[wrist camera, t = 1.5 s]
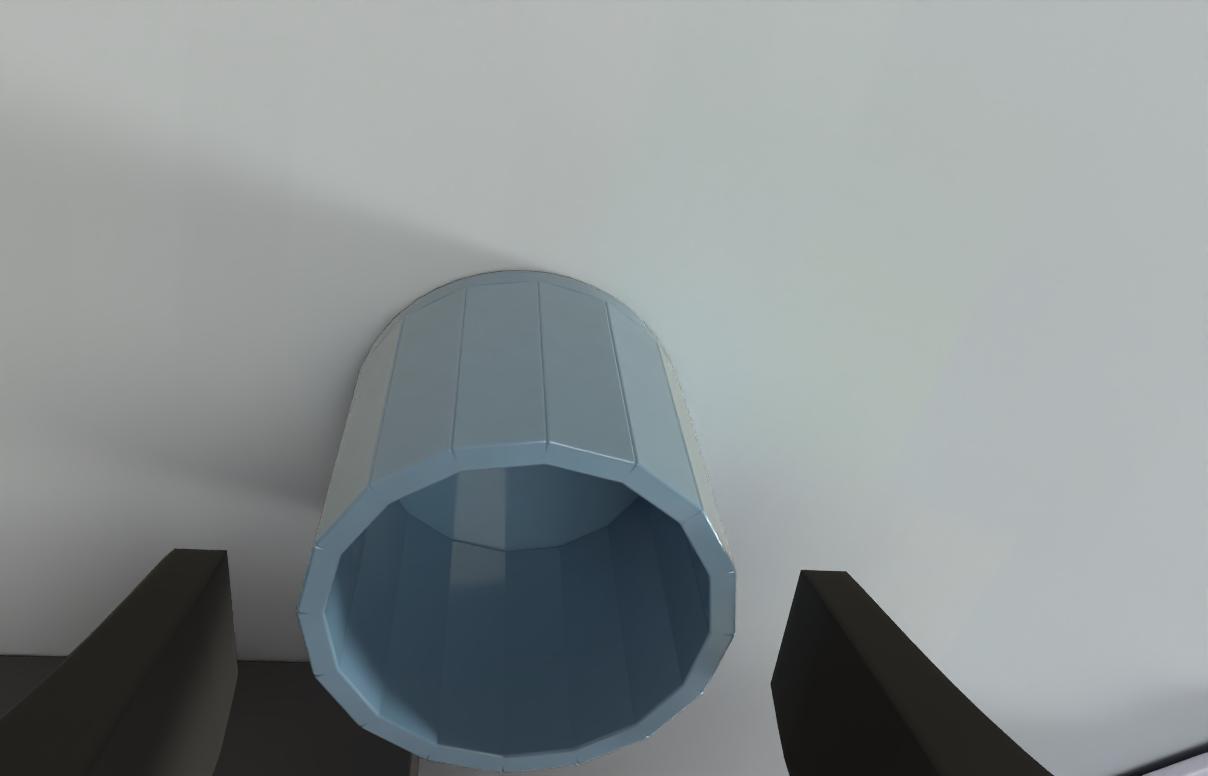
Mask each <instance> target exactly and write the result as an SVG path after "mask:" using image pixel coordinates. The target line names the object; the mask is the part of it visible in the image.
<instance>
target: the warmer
mask: <svg viewBox="0 0 1208 776" xmlns="http://www.w3.org/2000/svg"><path fill="white" fill-rule="evenodd" d="M65 659H66V658H64V657H20V656H0V718H1V717H3V716H4V715H5V714H6V713H7V712H8V711H9V710H10V709H12V708H13V707H14V706H15V705H16V704H17V703H18V702H19V701H21V700H22V699H23V698H24V697H25V696H26V695H27V694H28V693H30V692H31V691H32V690H33V689H34V688H35V687H36V686H37V685H39V684H40V683H41V682H42V681H43V680H44V679H45V678H46V677H47V676H48V675H49V674H50V673H51V672H53V671H54V670H55V669H56V668H57V667H58V666H59V665H60V664H61V663H62V662H63V661H64V660H65ZM237 666H238V677H237V682H236V686H235V691H234V696H233V700H232V705H231V709H230V714H229V718H228V723H227V727H226V731H225V735H224V740H223V744H222V748H221V752H220V755H219V758H218V761H217V764H216V767H215V770H214V773H213V775H212V776H418V763H419V757H418V756H416V755H414V754H412V753H410V752H408V751H406V750H404V749H402V748H400V747H398V746H396V745H394V744H392V743H390V742H388V741H386V740H384V739H382V738H380V737H378V736H376V735H374V734H372V733H370V732H368V731H366V730H364V729H362V727H361V726H359V725H357V723H356V722H355V721H354V720H353V719H352V718H351V717H350V716H349V715H348V713H347V712H346V711H345V710H344V709H343V708H342V707H341V706H340V705H339V704H338V702H337V701H336V700H335V699H334V698H333V697H332V696H331V695H330V694H329V693H328V691H327V690H326V689H325V688H324V687H323V686H322V685H321V684H320V683H319V681H318V680H317V679H316V678H315V675H314V674H313V672H312V669H311V665H310V663H285V662H241V661H237Z"/></svg>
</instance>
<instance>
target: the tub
mask: <svg viewBox="0 0 1208 776" xmlns="http://www.w3.org/2000/svg"><path fill="white" fill-rule="evenodd" d="M296 609H297V613H296V614H297V618H298V621H299V625H300V628H301V632H302V636H303V639H304V643H305V647H306V650H307V654H308V658H309V661H310V665H311V669H312V672H313V674H314V675H315V678H316V679H317V680H318V681H319V683H320V684H321V685H322V686H323V687H324V688H325V689H326V690H327V691H328V693H329V694H330V695H331V696H332V697H333V698H334V699H335V700H336V701H337V702H338V704H339V705H340V706H341V707H342V708H343V709H344V710H345V711H346V712H347V713H348V715H349V716H350V717H351V718H352V719H353V720H354V721H355V722H356V723H357V725H359V726H361V727H362V729H364V730H366V731H368V732H370V733H372V734H374V735H376V736H378V737H380V738H382V739H384V740H386V741H388V742H390V743H392V744H394V745H396V746H398V747H400V748H402V749H404V750H406V751H408V752H410V753H412V754H414V755H416V756H418V757H420V758H422V759H427V760H428V761H432V762H438V763H444V764H450V765H456V766H462V767H468V768H474V769H480V770H486V771H492V772H498V773H500V772H503V773H508V772H518V771H527V770H537V769H547V768H557V767H566V766H576V765H578V764H583V763H586V762H588V761H591V760H593V759H596V758H598V757H601V756H604V755H606V754H609V753H611V752H614V751H616V750H619V749H621V748H624V747H626V746H629V745H631V744H634V743H637V742H639V741H642V740H644V739H646V738H648V736H651V735H653V734H654V733H655V732H656V731H658V730H659V729H660V728H661V727H662V726H664V725H665V724H666V723H667V722H668V721H670V720H671V719H672V718H673V717H675V716H676V715H677V714H678V713H679V712H681V711H682V710H683V709H684V708H686V707H687V706H688V705H689V704H690V703H692V702H693V701H694V700H695V699H696V698H698V697H699V696H700V695H701V694H702V692H704V691H705V689H706V687H707V685H708V683H709V682H710V680H711V678H712V676H713V674H714V672H715V671H716V669H717V667H718V665H719V663H720V661H721V659H722V658H723V656H724V654H725V652H726V650H727V648H728V646H729V645H730V643H731V641H732V639H733V637H734V633H735V612H736V569H735V565H734V562H733V558H732V555H731V552H730V548H729V545H728V542H727V538H726V535H725V531H724V528H723V525H722V521H721V518H720V515H719V511H718V508H717V504H716V501H715V498H714V494H713V491H712V488H711V484H710V481H709V478H708V474H707V471H706V467H705V464H704V461H703V457H702V454H701V451H700V447H699V444H698V440H697V437H696V434H695V430H694V427H693V424H692V420H691V417H690V413H689V410H688V407H687V403H686V400H685V397H684V393H683V390H682V388H681V387H680V385H679V383H678V381H677V379H676V376H675V373H674V370H673V367H672V365H671V363H670V360H669V358H668V355H667V353H666V352H665V350H664V348H663V347H662V345H661V343H660V342H659V340H658V338H657V337H656V336H655V334H654V333H653V332H652V331H651V330H650V328H649V327H648V326H647V325H646V324H645V322H644V321H643V320H642V319H640V318H639V317H638V316H637V315H636V314H635V313H634V312H633V311H632V310H631V309H629V308H628V307H627V306H625V305H624V304H623V303H621V302H620V301H618V300H617V299H615V298H614V297H612V296H611V295H609V294H607V293H605V292H603V291H601V290H599V289H597V288H595V287H593V286H591V285H588V284H586V283H583V282H580V281H577V280H574V279H572V278H568V277H563V276H559V275H554V274H550V273H542V272H532V271H501V272H494V273H487V274H480V275H476V276H472V277H469V278H465V279H461V280H458V281H455V282H453V283H450V284H448V285H445V286H443V287H440V288H438V289H436V290H434V291H432V292H431V293H429V294H427V295H425V296H423V297H422V298H420V299H418V300H417V301H415V302H414V303H413V304H411V305H410V306H409V307H407V308H406V309H405V310H403V311H402V312H401V313H400V314H399V315H398V316H397V317H396V318H395V319H394V320H393V321H392V322H391V323H390V324H389V325H388V326H387V327H386V328H385V329H384V330H383V332H382V333H381V334H380V336H379V337H378V338H377V340H376V341H375V342H374V344H373V346H372V347H371V349H370V351H369V353H368V355H367V357H366V359H365V360H364V363H363V365H362V367H361V368H360V372H359V376H358V379H357V383H356V387H355V391H354V394H353V398H352V402H351V406H350V409H349V413H348V417H347V421H346V424H345V428H344V432H343V435H342V439H341V443H340V447H339V450H338V454H337V458H336V462H335V465H334V469H333V473H332V477H331V480H330V484H329V488H328V491H327V495H326V499H325V503H324V506H323V510H322V514H321V518H320V521H319V525H318V529H317V533H316V536H315V540H314V544H313V547H312V551H311V555H310V559H309V563H308V566H307V570H306V574H305V578H304V581H303V585H302V589H301V593H300V596H299V600H298V604H297V608H296Z"/></svg>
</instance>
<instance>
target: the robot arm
mask: <svg viewBox="0 0 1208 776" xmlns="http://www.w3.org/2000/svg"><path fill="white" fill-rule="evenodd" d="M237 677H238V666H237V655H236V644H235V633H234V622H233V611H232V600H231V589H230V578H229V567H228V556H227V550H198V549H174V550H173V551H171V552H170V553H169V554H168V555H166V556H165V557H164V558H163V559H162V560H161V562H160V563H159V564H158V565H157V566H156V567H155V568H154V569H153V570H152V571H151V572H150V573H149V574H148V575H147V576H146V578H145V579H144V580H143V581H142V582H141V583H140V584H139V585H138V586H137V587H136V588H135V589H134V590H133V591H132V592H131V593H130V595H129V596H128V597H127V598H126V599H125V600H124V601H123V602H122V603H121V604H120V605H119V606H118V607H117V608H116V609H115V610H114V611H113V612H112V613H111V614H110V615H109V616H108V617H107V618H106V619H105V620H104V621H103V622H102V623H101V624H100V626H99V627H98V628H97V629H96V630H95V631H94V632H92V633H91V634H90V635H89V636H88V637H87V638H86V639H85V640H84V641H83V642H82V643H81V644H80V645H79V646H78V647H77V648H76V649H75V650H74V651H73V652H72V653H71V654H70V655H69V656H68V657H67V658H66V659H65V660H64V661H63V662H62V663H61V664H60V665H59V666H58V667H57V668H56V669H55V670H54V671H53V672H51V673H50V674H49V675H48V676H47V677H46V678H45V679H44V680H43V681H42V682H41V683H40V684H39V685H37V686H36V687H35V688H34V689H33V690H32V691H31V692H30V693H28V694H27V695H26V696H25V697H24V698H23V699H22V700H21V701H19V702H18V703H17V704H16V705H15V706H14V707H13V708H12V709H10V710H9V711H8V712H7V713H6V714H5V715H4V716H3V717H1V718H0V776H212V775H213V773H214V770H215V767H216V764H217V761H218V758H219V755H220V752H221V748H222V744H223V740H224V735H225V731H226V727H227V723H228V718H229V714H230V709H231V705H232V700H233V696H234V691H235V686H236V682H237ZM771 689H772V695H773V701H774V707H775V712H776V718H777V724H778V729H779V734H780V739H781V744H782V749H783V754H784V759H785V762H786V765H787V769H788V772H789V775H790V776H1054V775H1052V774H1051V773H1050V772H1049V771H1047V770H1046V769H1045V768H1044V767H1043V766H1042V765H1040V764H1039V763H1038V762H1037V761H1036V760H1035V759H1033V758H1032V757H1031V756H1030V755H1029V754H1028V753H1026V752H1025V751H1024V750H1023V749H1022V748H1021V747H1020V746H1019V745H1017V744H1016V743H1015V742H1014V741H1013V740H1012V739H1011V738H1010V737H1009V736H1008V735H1007V734H1005V733H1004V732H1003V731H1002V730H1001V729H1000V728H999V727H998V726H997V725H996V724H994V723H993V722H992V721H991V720H990V719H989V718H988V717H987V716H986V715H985V714H984V713H983V712H982V711H980V710H979V709H978V708H977V707H976V706H975V705H974V704H973V703H972V702H971V701H970V700H969V699H968V698H967V697H966V696H965V695H964V694H963V693H962V692H961V691H960V690H959V689H958V688H957V687H956V686H955V685H954V684H953V683H952V682H951V681H950V680H949V679H948V678H947V677H946V676H945V675H944V674H943V673H942V672H941V671H940V670H939V669H938V668H937V667H936V666H935V665H934V664H933V663H932V662H931V661H930V660H929V659H928V658H927V657H926V656H925V655H924V653H923V652H922V651H921V650H920V649H919V648H918V647H917V646H916V645H915V644H914V643H913V642H912V641H911V640H910V639H909V638H908V637H907V636H906V634H905V633H904V632H903V631H902V630H901V629H900V628H899V627H898V626H897V625H896V624H895V623H894V622H893V621H892V620H891V618H890V617H889V616H888V615H887V614H886V613H885V612H884V611H883V610H882V609H881V608H880V607H879V606H878V604H877V603H876V602H875V601H874V600H873V599H872V598H871V597H870V596H869V595H868V594H867V593H866V592H865V590H864V589H863V588H862V587H861V586H860V585H859V584H858V583H857V582H856V581H855V580H854V579H853V578H852V577H851V576H850V575H849V574H848V573H847V572H846V571H816V570H801V572H800V576H799V580H798V583H797V587H796V591H795V595H794V598H793V602H792V606H791V610H790V613H789V617H788V621H787V625H786V628H785V632H784V636H783V639H782V643H781V647H780V651H779V654H778V658H777V662H776V666H775V669H774V673H773V677H772V681H771ZM1142 776H1208V752H1206V753H1203V754H1201V755H1198V756H1195V757H1192V758H1189V759H1187V760H1184V761H1181V762H1178V763H1175V764H1173V765H1170V766H1167V767H1164V768H1162V769H1159V770H1156V771H1153V772H1150V773H1148V774H1145V775H1142Z"/></svg>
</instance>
